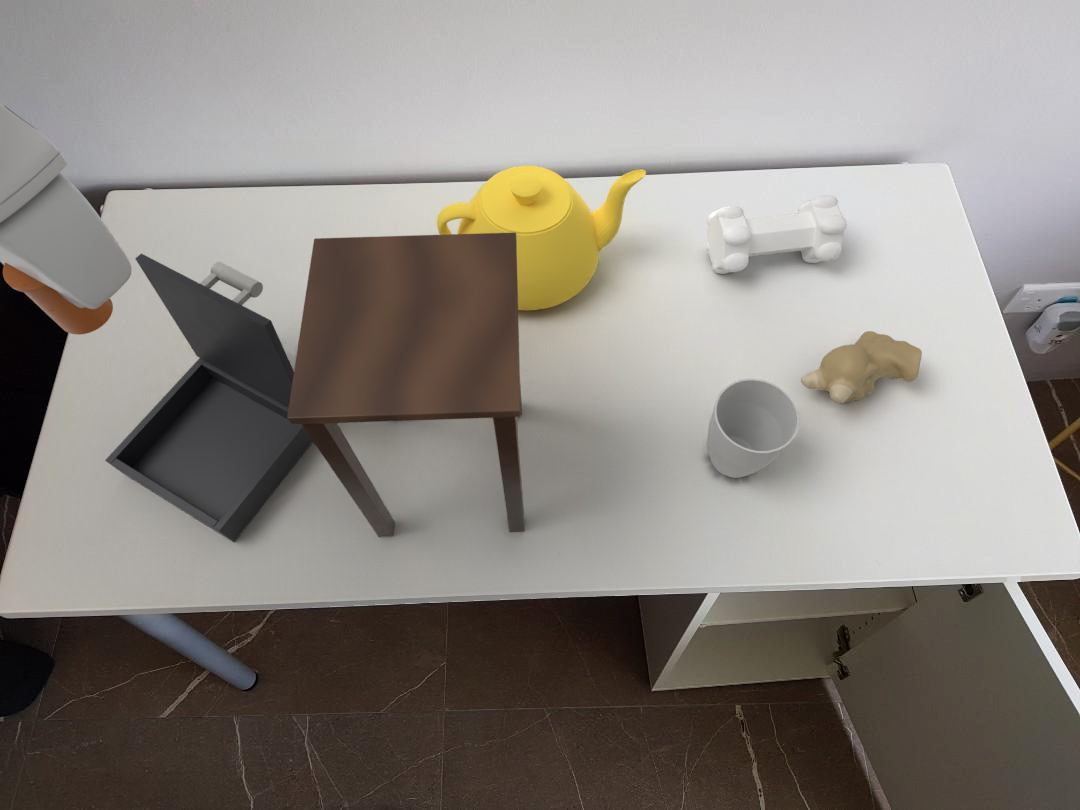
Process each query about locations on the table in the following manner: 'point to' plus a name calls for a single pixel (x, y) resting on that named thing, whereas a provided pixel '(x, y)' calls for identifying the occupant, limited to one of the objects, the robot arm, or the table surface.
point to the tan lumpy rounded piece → (864, 366)
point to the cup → (750, 426)
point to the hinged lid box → (213, 448)
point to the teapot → (544, 228)
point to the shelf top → (409, 330)
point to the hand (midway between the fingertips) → (55, 282)
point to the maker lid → (225, 326)
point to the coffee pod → (58, 303)
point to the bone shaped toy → (775, 234)
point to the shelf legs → (371, 503)
